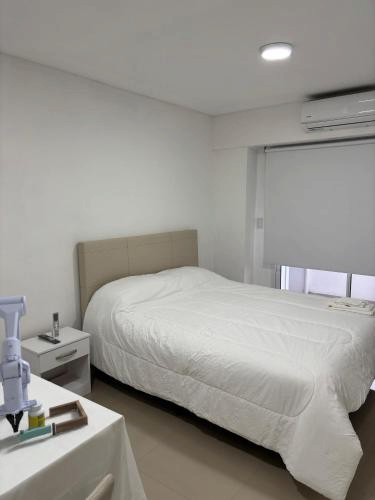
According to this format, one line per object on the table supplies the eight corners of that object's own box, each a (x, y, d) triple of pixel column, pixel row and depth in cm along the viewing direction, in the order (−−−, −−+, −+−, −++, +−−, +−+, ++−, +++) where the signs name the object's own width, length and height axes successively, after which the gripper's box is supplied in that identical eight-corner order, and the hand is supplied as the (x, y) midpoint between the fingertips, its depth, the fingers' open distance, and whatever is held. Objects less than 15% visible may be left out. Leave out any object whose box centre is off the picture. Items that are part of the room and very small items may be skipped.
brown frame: (45, 416, 140) (45, 406, 140) (78, 407, 147) (78, 397, 146) (52, 435, 130) (52, 424, 129) (88, 424, 136) (87, 414, 135)
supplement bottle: (39, 434, 130) (38, 408, 128) (25, 432, 131) (23, 406, 130) (48, 425, 135) (47, 400, 134) (34, 423, 136) (33, 398, 135)
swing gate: (51, 430, 130) (50, 422, 130) (51, 432, 129) (51, 423, 129) (19, 439, 125) (18, 430, 125) (19, 441, 124) (19, 432, 124)
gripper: (-11, 406, 120) (-8, 444, 122) (37, 394, 127) (40, 430, 130) (-12, 395, 126) (-9, 432, 128) (34, 384, 133) (36, 419, 136)
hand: (15, 431), depth 129 cm, fingers closed
